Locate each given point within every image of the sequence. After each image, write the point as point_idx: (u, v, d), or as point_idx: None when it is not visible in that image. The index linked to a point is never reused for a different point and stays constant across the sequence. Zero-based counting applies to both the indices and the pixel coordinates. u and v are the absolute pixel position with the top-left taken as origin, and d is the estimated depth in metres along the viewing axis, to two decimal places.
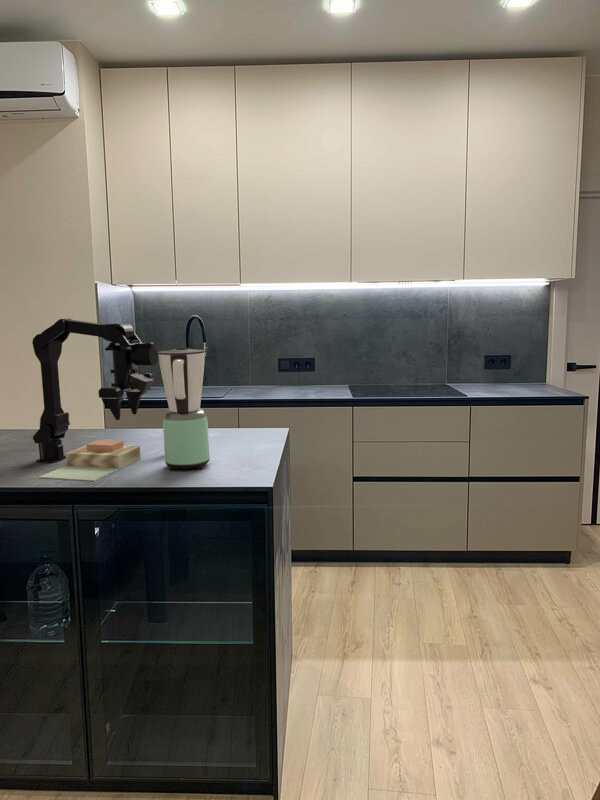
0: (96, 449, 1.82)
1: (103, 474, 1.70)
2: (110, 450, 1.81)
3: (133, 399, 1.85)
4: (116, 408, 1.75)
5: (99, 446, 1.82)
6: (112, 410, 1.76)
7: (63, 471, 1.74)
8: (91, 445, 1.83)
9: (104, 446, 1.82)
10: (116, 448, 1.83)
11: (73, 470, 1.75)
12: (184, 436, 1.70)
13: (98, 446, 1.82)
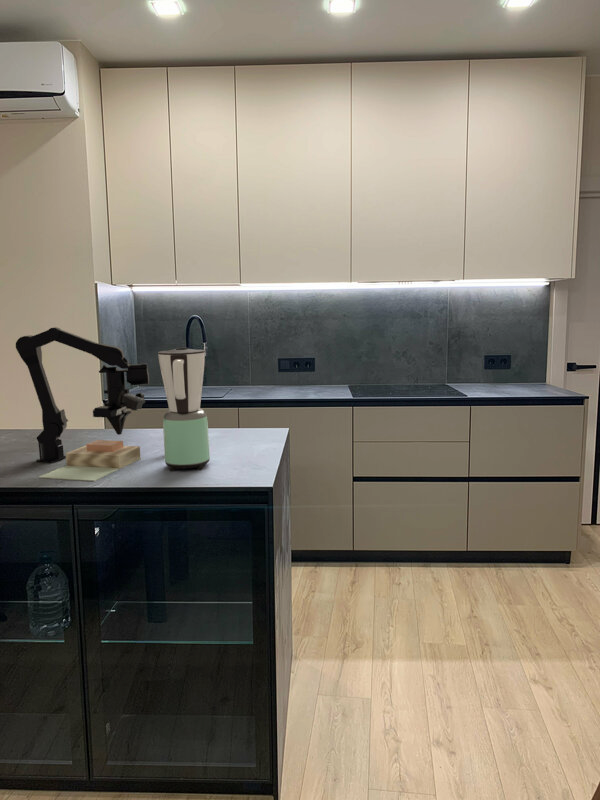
0: (96, 449, 1.82)
1: (103, 474, 1.70)
2: (110, 450, 1.81)
3: None
4: (117, 424, 1.91)
5: (99, 446, 1.82)
6: (114, 425, 1.91)
7: (63, 471, 1.74)
8: (91, 445, 1.83)
9: (104, 446, 1.82)
10: (116, 448, 1.83)
11: (73, 470, 1.75)
12: (184, 436, 1.70)
13: (98, 446, 1.82)
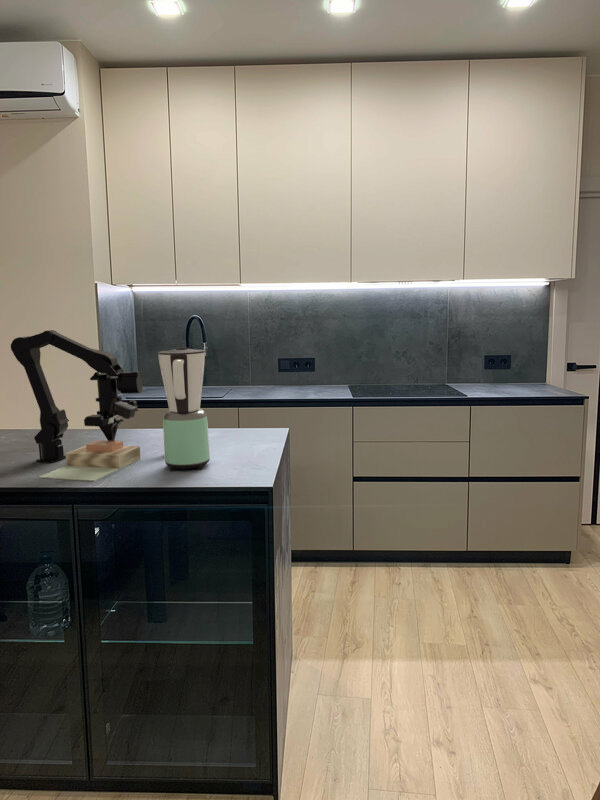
0: (96, 449, 1.82)
1: (103, 474, 1.70)
2: (110, 450, 1.81)
3: None
4: (109, 432, 1.86)
5: (99, 446, 1.82)
6: (106, 434, 1.87)
7: (63, 471, 1.74)
8: (91, 445, 1.83)
9: (104, 446, 1.81)
10: (116, 448, 1.83)
11: (73, 470, 1.75)
12: (184, 436, 1.70)
13: (98, 446, 1.82)
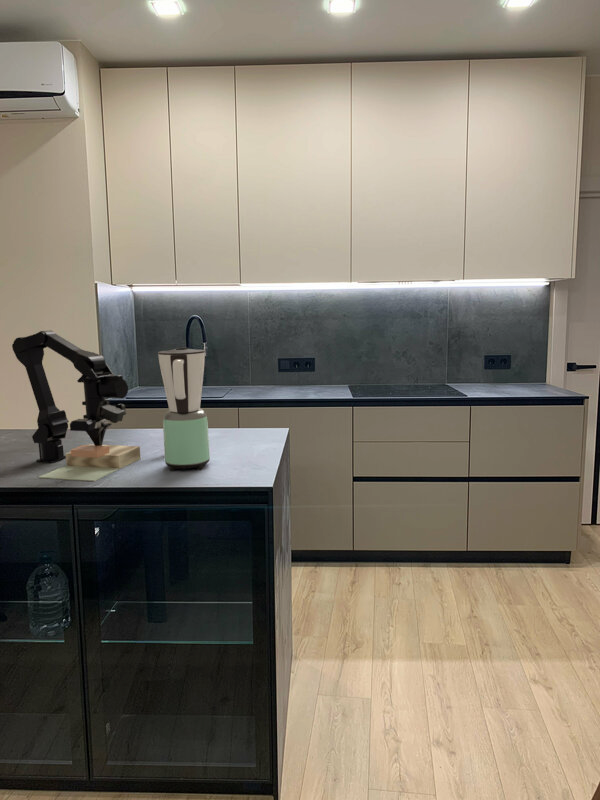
0: (81, 455, 1.76)
1: (103, 474, 1.70)
2: (95, 456, 1.75)
3: None
4: (97, 437, 1.80)
5: (84, 451, 1.75)
6: (93, 439, 1.80)
7: (63, 471, 1.74)
8: (75, 450, 1.76)
9: (89, 452, 1.75)
10: (101, 454, 1.76)
11: (73, 470, 1.75)
12: (184, 436, 1.70)
13: (83, 451, 1.75)
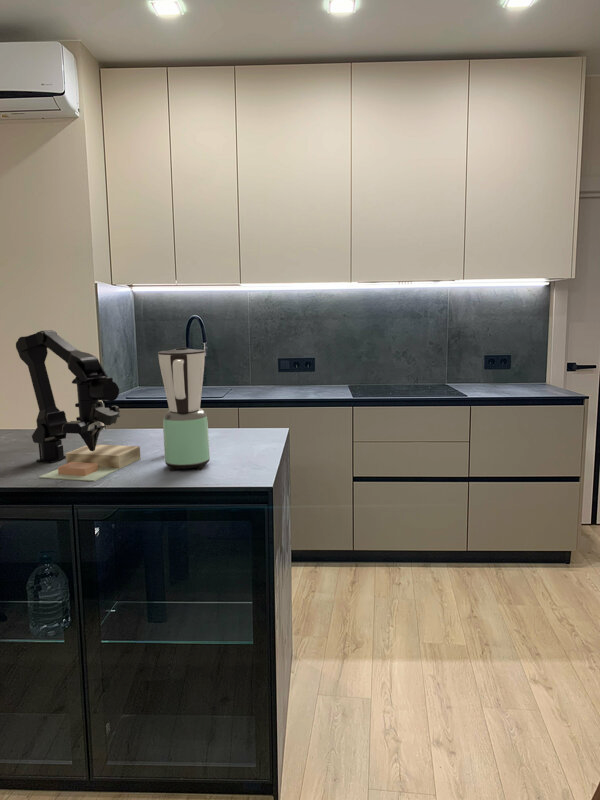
0: None
1: (103, 474, 1.70)
2: None
3: None
4: (90, 439, 1.77)
5: None
6: (86, 441, 1.77)
7: None
8: None
9: None
10: (93, 467, 1.73)
11: None
12: (184, 436, 1.70)
13: None
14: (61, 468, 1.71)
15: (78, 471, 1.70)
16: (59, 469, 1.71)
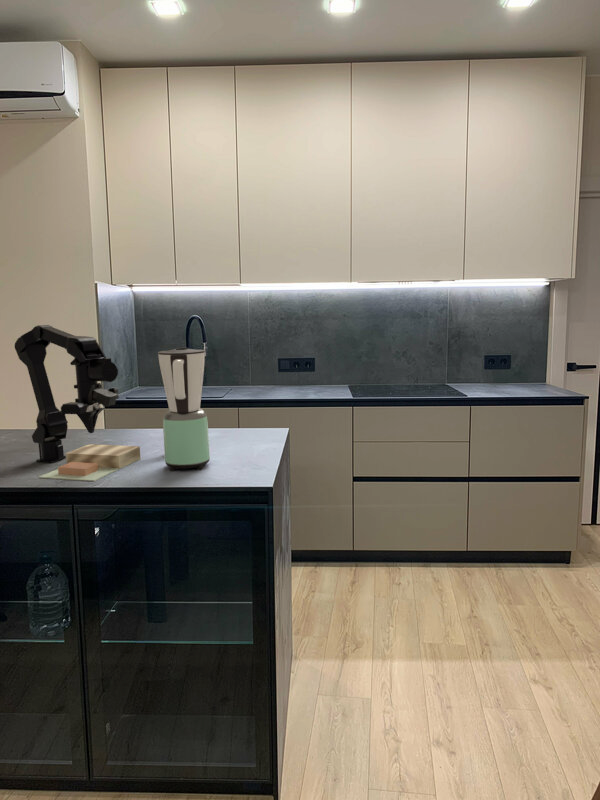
0: None
1: (103, 474, 1.70)
2: None
3: None
4: (89, 421, 1.76)
5: None
6: (85, 423, 1.76)
7: None
8: None
9: None
10: (93, 467, 1.73)
11: None
12: (184, 436, 1.70)
13: None
14: (61, 468, 1.71)
15: (78, 471, 1.70)
16: (59, 469, 1.71)
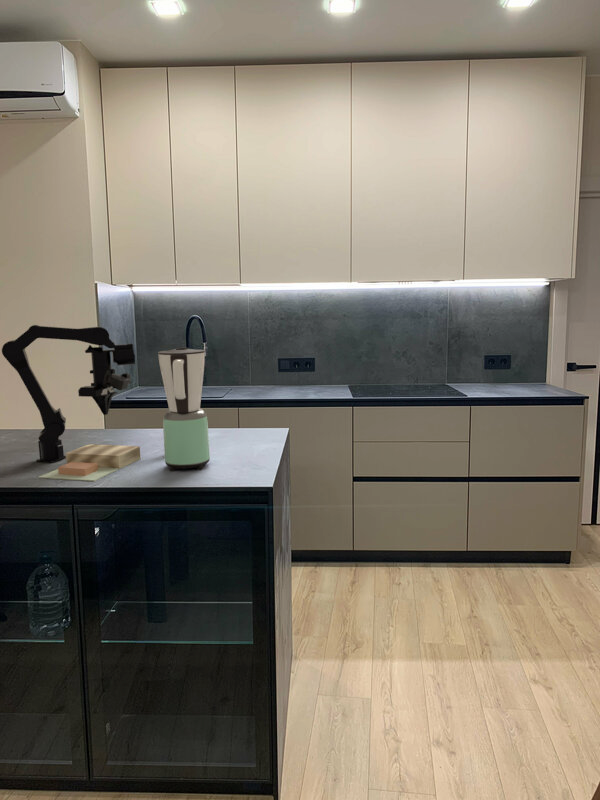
0: None
1: (103, 474, 1.70)
2: None
3: None
4: (103, 404, 1.91)
5: None
6: (100, 406, 1.92)
7: None
8: None
9: None
10: (93, 467, 1.73)
11: None
12: (184, 436, 1.70)
13: None
14: (61, 468, 1.71)
15: (78, 471, 1.70)
16: (59, 469, 1.71)
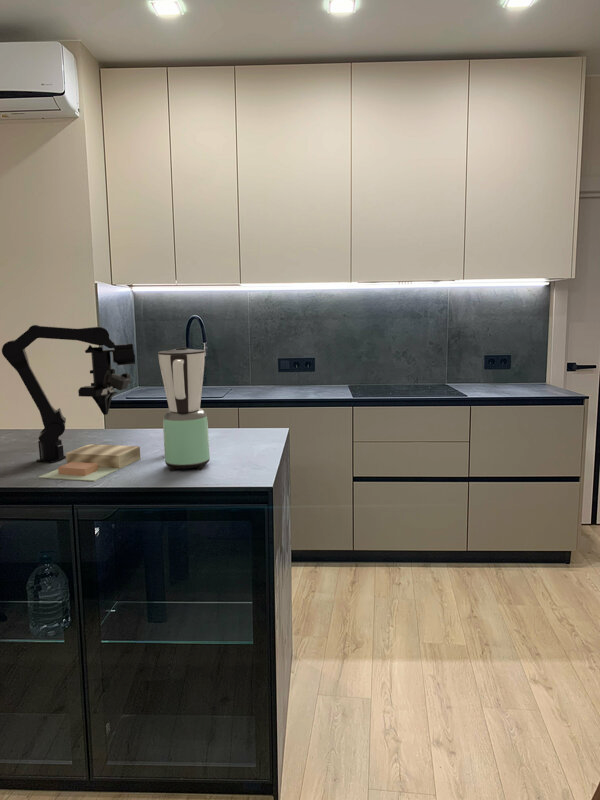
0: None
1: (103, 474, 1.70)
2: None
3: None
4: (103, 404, 1.91)
5: None
6: (100, 406, 1.92)
7: None
8: None
9: None
10: (93, 467, 1.73)
11: None
12: (184, 436, 1.70)
13: None
14: (61, 468, 1.71)
15: (78, 471, 1.70)
16: (59, 469, 1.71)
